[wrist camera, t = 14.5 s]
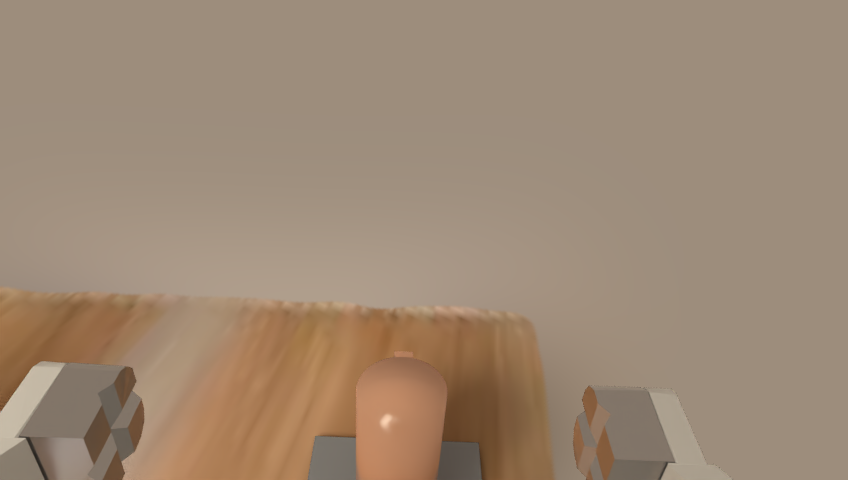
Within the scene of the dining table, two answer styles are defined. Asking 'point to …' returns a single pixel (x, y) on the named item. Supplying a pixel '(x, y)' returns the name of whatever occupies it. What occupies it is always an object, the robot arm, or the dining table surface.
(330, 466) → the mat
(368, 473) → the tall peach cylinder
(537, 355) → the dining table surface
